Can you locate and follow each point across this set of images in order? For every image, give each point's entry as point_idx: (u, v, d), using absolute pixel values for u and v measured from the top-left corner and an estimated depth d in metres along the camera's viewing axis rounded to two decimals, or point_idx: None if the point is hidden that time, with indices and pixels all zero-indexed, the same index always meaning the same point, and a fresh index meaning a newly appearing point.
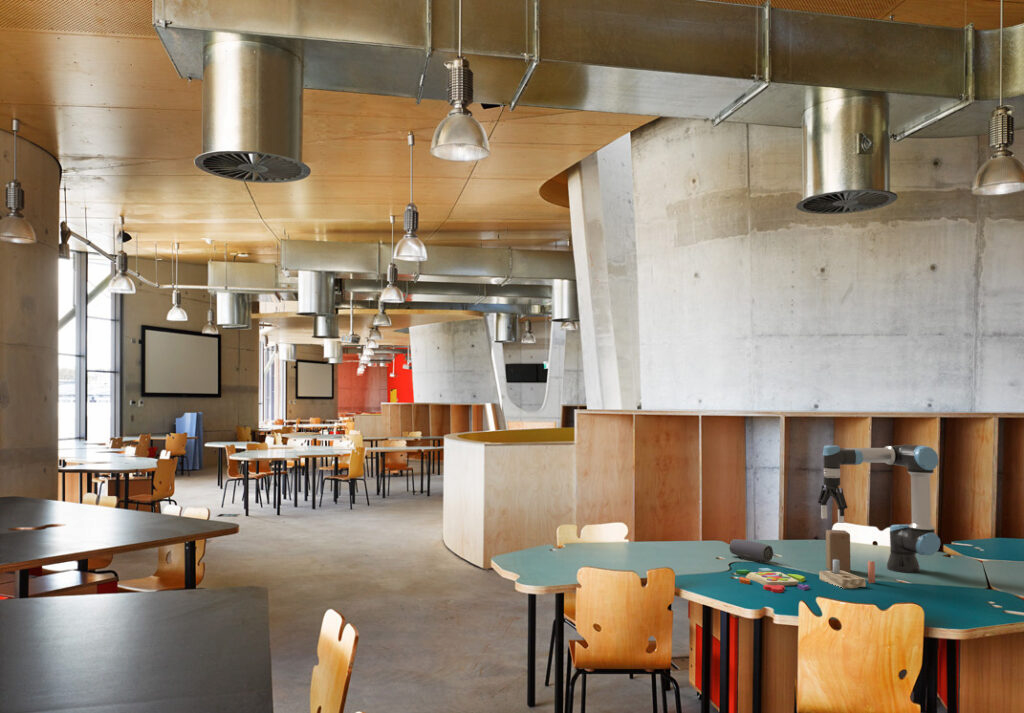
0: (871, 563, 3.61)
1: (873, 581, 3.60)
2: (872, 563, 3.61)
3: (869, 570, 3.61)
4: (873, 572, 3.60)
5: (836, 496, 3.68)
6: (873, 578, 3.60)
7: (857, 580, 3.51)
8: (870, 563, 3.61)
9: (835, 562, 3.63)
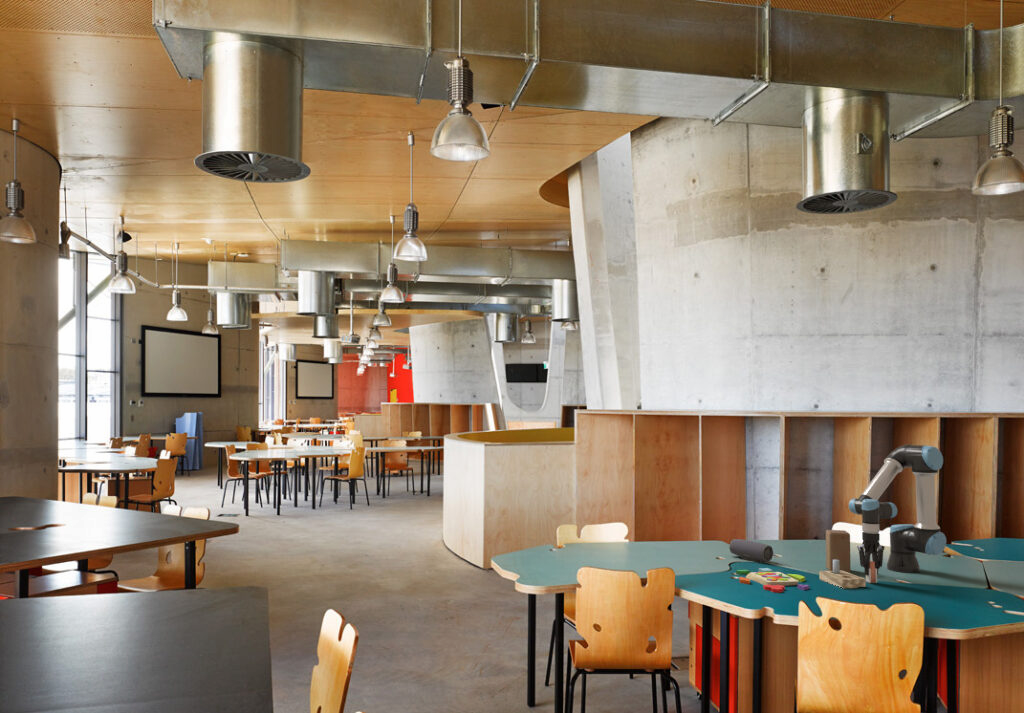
0: (871, 563, 3.61)
1: (873, 581, 3.60)
2: (872, 563, 3.61)
3: None
4: (873, 572, 3.60)
5: (866, 553, 3.62)
6: (873, 578, 3.60)
7: (857, 580, 3.51)
8: (870, 563, 3.61)
9: (835, 562, 3.63)
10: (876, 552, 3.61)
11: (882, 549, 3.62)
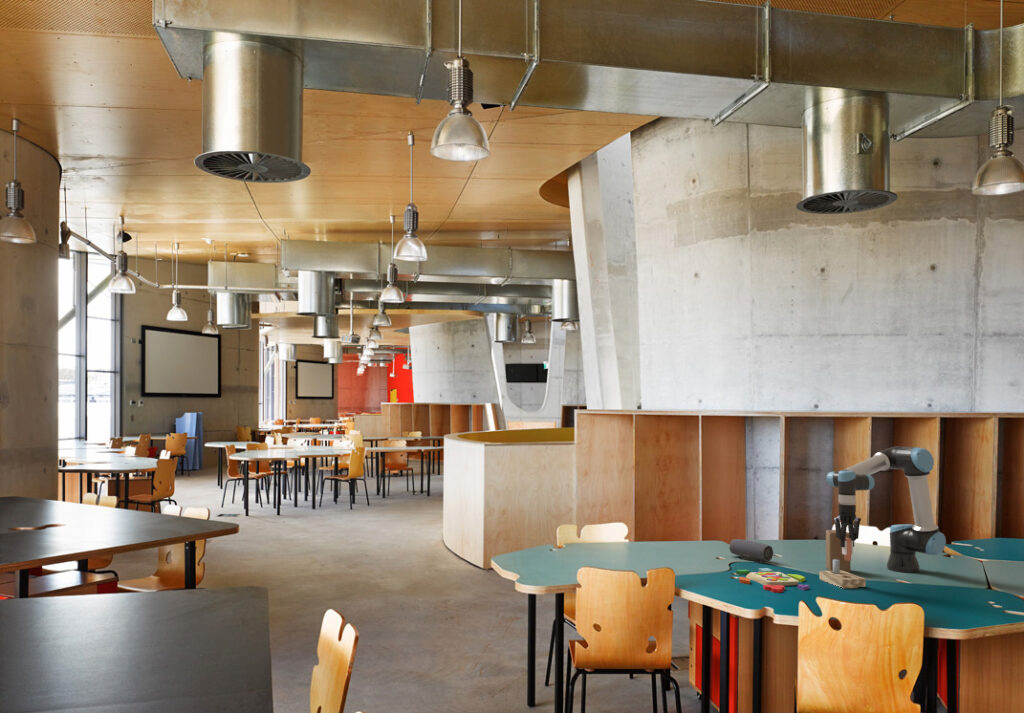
0: (847, 540, 3.55)
1: (849, 558, 3.54)
2: (848, 540, 3.55)
3: None
4: (849, 549, 3.55)
5: (842, 525, 3.57)
6: (849, 555, 3.55)
7: (857, 580, 3.51)
8: (846, 540, 3.55)
9: (835, 562, 3.63)
10: (852, 524, 3.56)
11: (858, 521, 3.57)
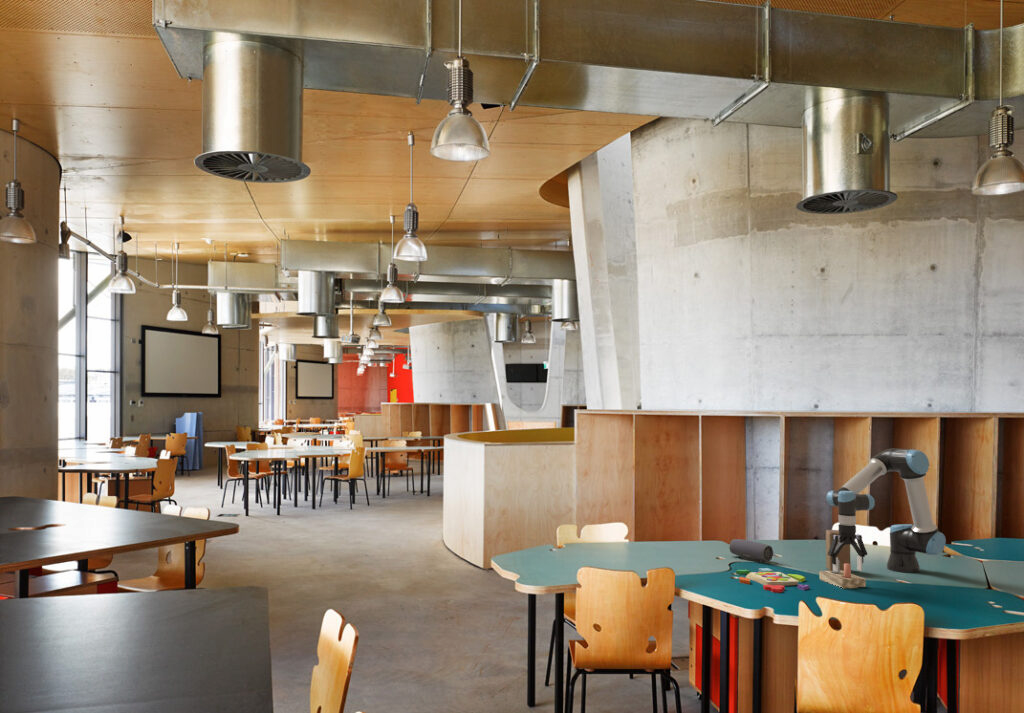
0: (847, 565, 3.54)
1: None
2: (848, 565, 3.54)
3: (845, 573, 3.55)
4: (849, 575, 3.54)
5: (839, 543, 3.56)
6: None
7: (857, 580, 3.51)
8: (846, 565, 3.55)
9: None
10: (855, 543, 3.55)
11: (860, 538, 3.56)
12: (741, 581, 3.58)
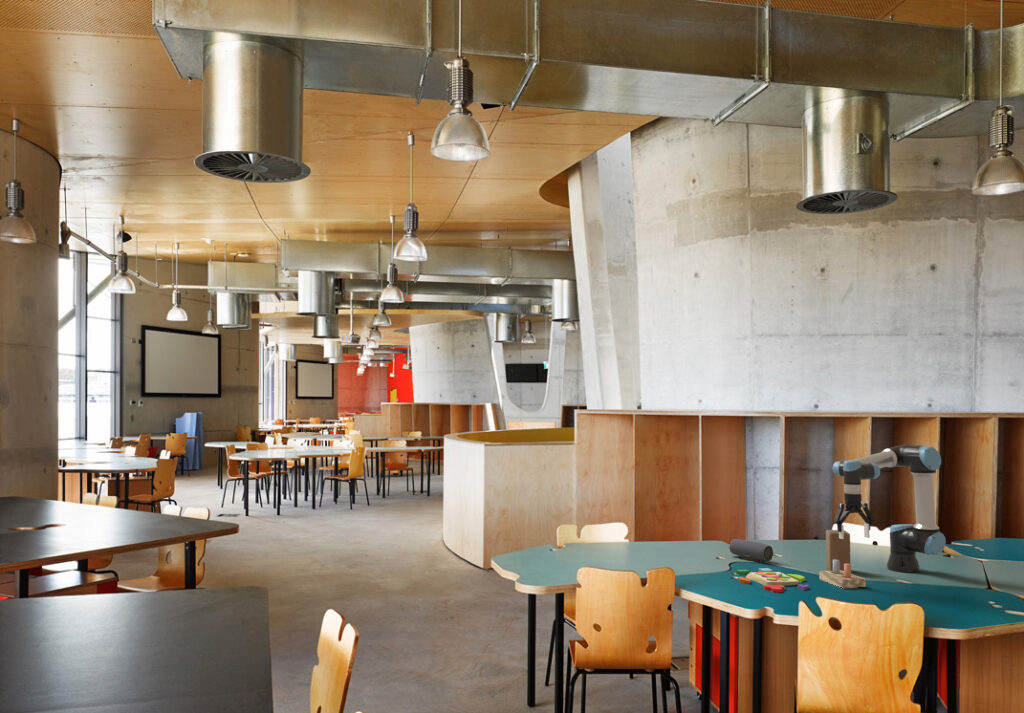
0: (847, 565, 3.54)
1: None
2: (848, 566, 3.54)
3: (845, 573, 3.55)
4: (849, 575, 3.54)
5: (844, 512, 3.60)
6: None
7: (857, 580, 3.51)
8: (846, 565, 3.55)
9: (835, 562, 3.63)
10: (861, 511, 3.60)
11: (866, 506, 3.61)
12: (741, 581, 3.58)
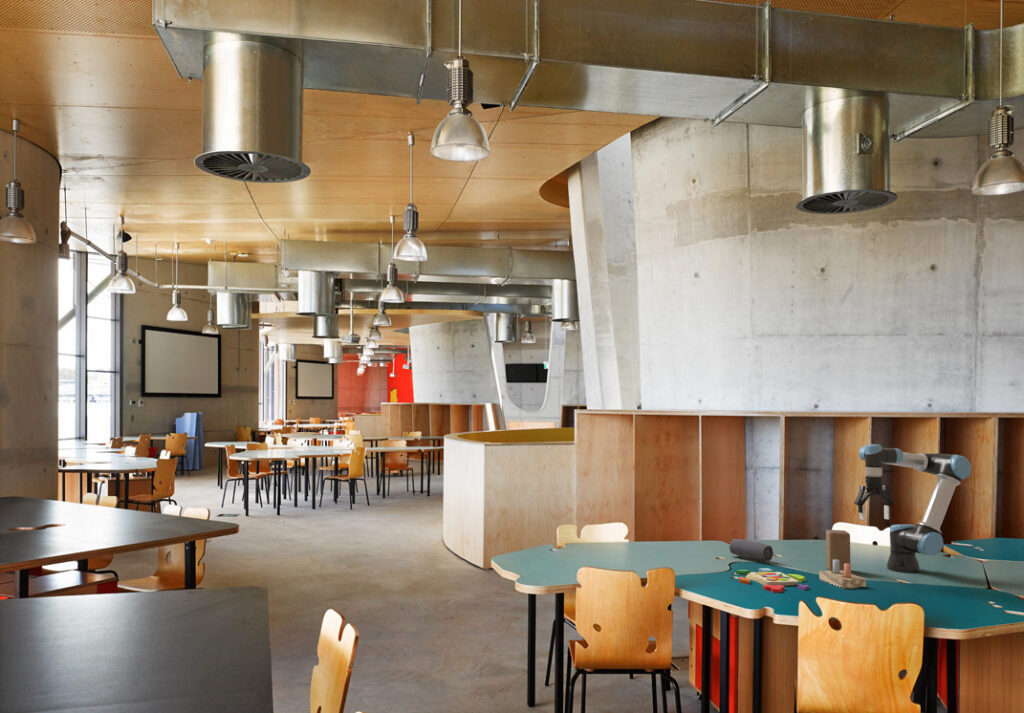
0: (847, 566, 3.54)
1: None
2: (848, 566, 3.54)
3: (845, 573, 3.55)
4: (849, 575, 3.54)
5: (865, 494, 3.73)
6: None
7: (857, 580, 3.51)
8: (846, 565, 3.55)
9: (835, 562, 3.63)
10: (882, 493, 3.72)
11: (886, 489, 3.73)
12: (741, 581, 3.58)
